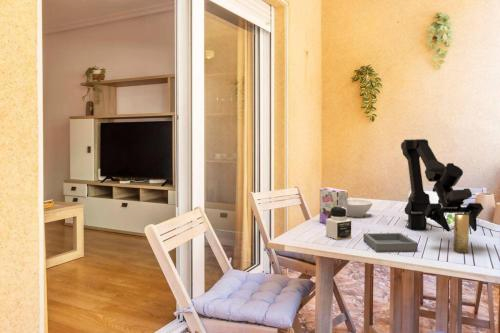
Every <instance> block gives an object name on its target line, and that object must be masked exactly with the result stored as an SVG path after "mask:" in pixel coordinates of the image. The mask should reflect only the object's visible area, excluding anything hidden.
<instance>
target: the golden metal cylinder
mask: <svg viewBox="0 0 500 333" xmlns="http://www.w3.org/2000/svg"><path fill="white" fill-rule="evenodd" d="M453 222H454V225H453V226H454V227H453V252H454V253H456V254H457V253H458V254H469V234H470V233H469V231H470V230H469V229H470V225H469V215H468V214H464V213H454V221H453Z"/></svg>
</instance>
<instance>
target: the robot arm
mask: <svg viewBox="0 0 500 333" xmlns="http://www.w3.org/2000/svg"><path fill="white" fill-rule="evenodd" d="M400 150H402V155H403V156H404V158H405V159H406V160H407V166H408V176H409V182H410V191H411V192H410V195H409V197H408V198H407V199H408V200H407V201H408V202H407V204H406V205H405V207H404V213H405V214H406V215H408V216H407V225H406V228H408V229H410V230H412V231H427V230H428V228H427V219H430V220H432V221H434V222H435V223H437V224H438V225H439V226H441V228H443V229H444V230H445V231H446V232H448V233H449V232H450V231H451V228H450V226H449V223H448V221H447V218H446V216H445V214H456V213H463V214H468V215H469V227H470V228H471V229H472V230H473V232H476V231H477V229H478V227H477V219H478V218H477V217H478V216H479V215H480V214H481V213H482V211H483V210H484V207H483V205H482V203H480V202H469V203H468V204H467V205H466V206H462V205H464V203H465V202H464V201H465V200H468V199H470V198H472V196H473V194H472V191H471V189H470V188H463V189H454V187H455V186H456V185H457V184H458V183H459V181H460V179H461V177H462V176H463V174H464V171H463V169H462V168H461V167H460V166H458V165H455V164H454V163H453V162H448V163H447V164H446V165H445V164H444V163H442V162H441V161H439V160H438V158H437V157H436V155H435V153H434V152H433V150H432V148H431V147H430V144H429V141H428V140H427V139H426V138H425V139H424V138H419V139H418V138H416V139H404V140H403V141H401V144H400ZM420 158H421V159H420ZM420 160H421V161H422V163H423V164H424V167H425V170H424V174H425V178H426V179H427V181H428V182H431V183H433V182H434V184H433V187H432V192H435V193H436V195H437V197H438V200H437V202H438V203H435V202H434V203H432V202H431V200H430V195H429V193H426V192H425V190H424V185H423V184H424V182H423V175H422V169H421V168H422V167H421V161H420Z"/></svg>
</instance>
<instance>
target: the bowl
mask: <svg viewBox="0 0 500 333" xmlns="http://www.w3.org/2000/svg"><path fill="white" fill-rule="evenodd" d="M372 206H373V202H372V201H370V200H365V199H351V198H350V199H347V217H351V218H362V217H364V216H365V214H366V213H367V212H369V211H370V209H371V207H372Z"/></svg>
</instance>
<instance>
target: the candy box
mask: <svg viewBox="0 0 500 333" xmlns="http://www.w3.org/2000/svg"><path fill="white" fill-rule="evenodd" d="M348 192H349V191H348V190H345V189H340V188H334V187H330V186H329V187H327V186H326V187H319V223H321V224H324V225H326V219H329V218H331V208H333V207H344V208H346V219H348V215H347V200H349V198H348Z"/></svg>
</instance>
